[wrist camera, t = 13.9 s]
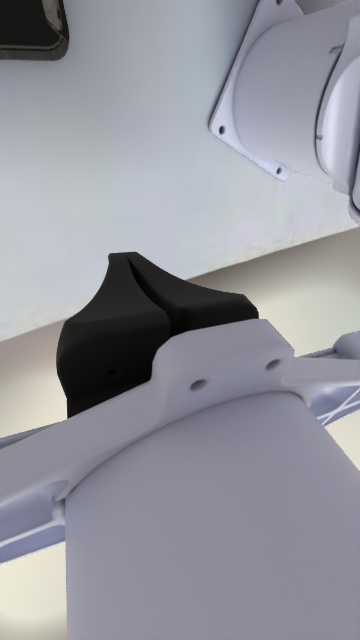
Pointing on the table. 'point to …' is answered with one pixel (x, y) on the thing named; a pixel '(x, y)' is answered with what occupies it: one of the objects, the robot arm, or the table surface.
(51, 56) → the phone
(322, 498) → the robot arm
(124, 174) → the table surface
